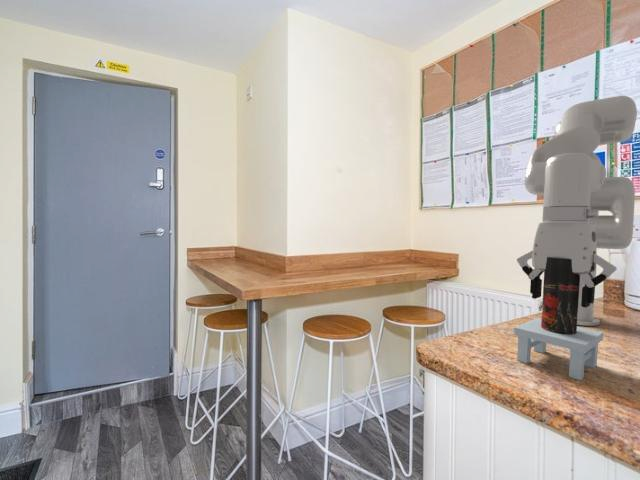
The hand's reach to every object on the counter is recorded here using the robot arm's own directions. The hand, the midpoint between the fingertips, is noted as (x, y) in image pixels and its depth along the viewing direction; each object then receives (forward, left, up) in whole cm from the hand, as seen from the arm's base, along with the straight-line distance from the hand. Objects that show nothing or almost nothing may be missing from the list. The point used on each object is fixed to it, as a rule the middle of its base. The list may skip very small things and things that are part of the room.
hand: (559, 301), depth 68 cm
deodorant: (0, 0, -6) cm, 6 cm away
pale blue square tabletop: (0, 0, -13) cm, 13 cm away
